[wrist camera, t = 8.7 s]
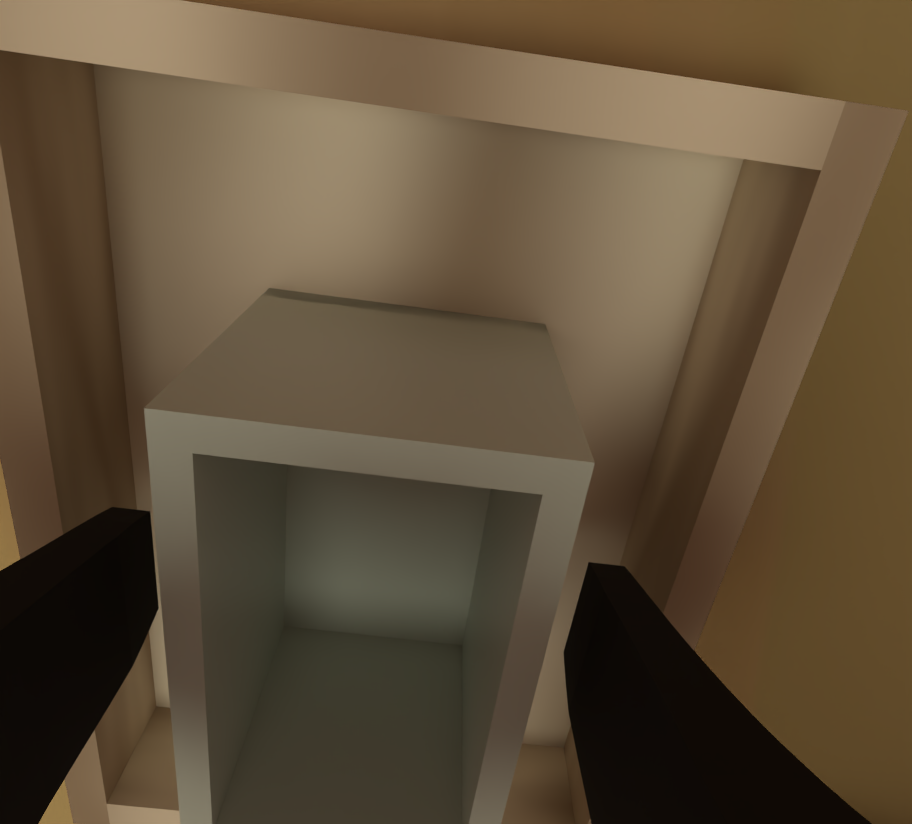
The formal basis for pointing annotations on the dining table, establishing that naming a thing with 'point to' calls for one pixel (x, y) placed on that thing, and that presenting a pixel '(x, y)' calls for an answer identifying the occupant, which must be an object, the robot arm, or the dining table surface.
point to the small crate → (360, 558)
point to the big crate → (409, 279)
